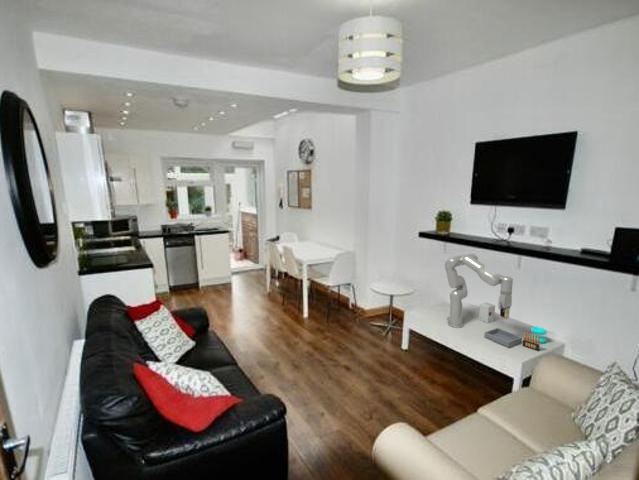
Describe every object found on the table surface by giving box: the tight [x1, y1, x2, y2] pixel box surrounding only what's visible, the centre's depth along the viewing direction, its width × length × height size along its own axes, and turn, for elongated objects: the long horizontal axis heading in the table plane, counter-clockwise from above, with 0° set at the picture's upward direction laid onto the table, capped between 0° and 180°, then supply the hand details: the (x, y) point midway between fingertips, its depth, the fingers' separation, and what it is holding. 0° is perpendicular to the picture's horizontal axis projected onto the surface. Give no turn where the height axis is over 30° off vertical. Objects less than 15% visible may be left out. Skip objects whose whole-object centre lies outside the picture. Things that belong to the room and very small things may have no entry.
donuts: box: [530, 326, 548, 344], centre depth 255 cm, size 10×10×10 cm
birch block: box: [499, 307, 511, 320], centre depth 255 cm, size 4×4×8 cm
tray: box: [483, 327, 523, 349], centre depth 258 cm, size 20×16×4 cm
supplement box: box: [478, 302, 496, 324], centre depth 294 cm, size 9×9×15 cm
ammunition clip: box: [521, 330, 541, 352], centre depth 245 cm, size 11×2×12 cm, turn 39°
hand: (504, 315), depth 255 cm, fingers closed on birch block, 4 cm apart
